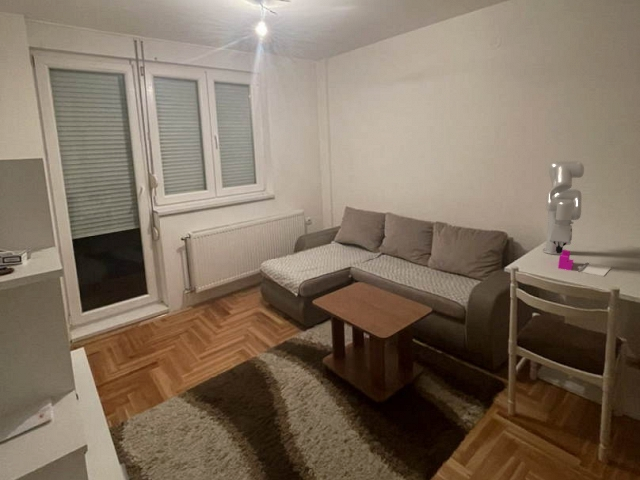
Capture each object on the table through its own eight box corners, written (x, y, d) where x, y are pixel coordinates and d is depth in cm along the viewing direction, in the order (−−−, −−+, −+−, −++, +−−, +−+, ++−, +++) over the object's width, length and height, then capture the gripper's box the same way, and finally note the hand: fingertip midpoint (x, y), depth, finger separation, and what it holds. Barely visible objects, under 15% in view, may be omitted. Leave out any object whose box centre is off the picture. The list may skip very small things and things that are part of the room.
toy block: (570, 270, 213) (572, 257, 211) (558, 268, 216) (559, 256, 214) (573, 263, 224) (575, 251, 222) (561, 261, 228) (562, 250, 226)
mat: (586, 264, 222) (586, 262, 221) (610, 268, 214) (611, 266, 213) (578, 271, 210) (578, 269, 209) (603, 276, 202) (603, 274, 201)
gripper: (579, 223, 216) (575, 253, 220) (550, 220, 226) (546, 249, 231) (575, 225, 211) (571, 256, 215) (546, 222, 221) (542, 252, 226)
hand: (558, 252), depth 223 cm, fingers closed
